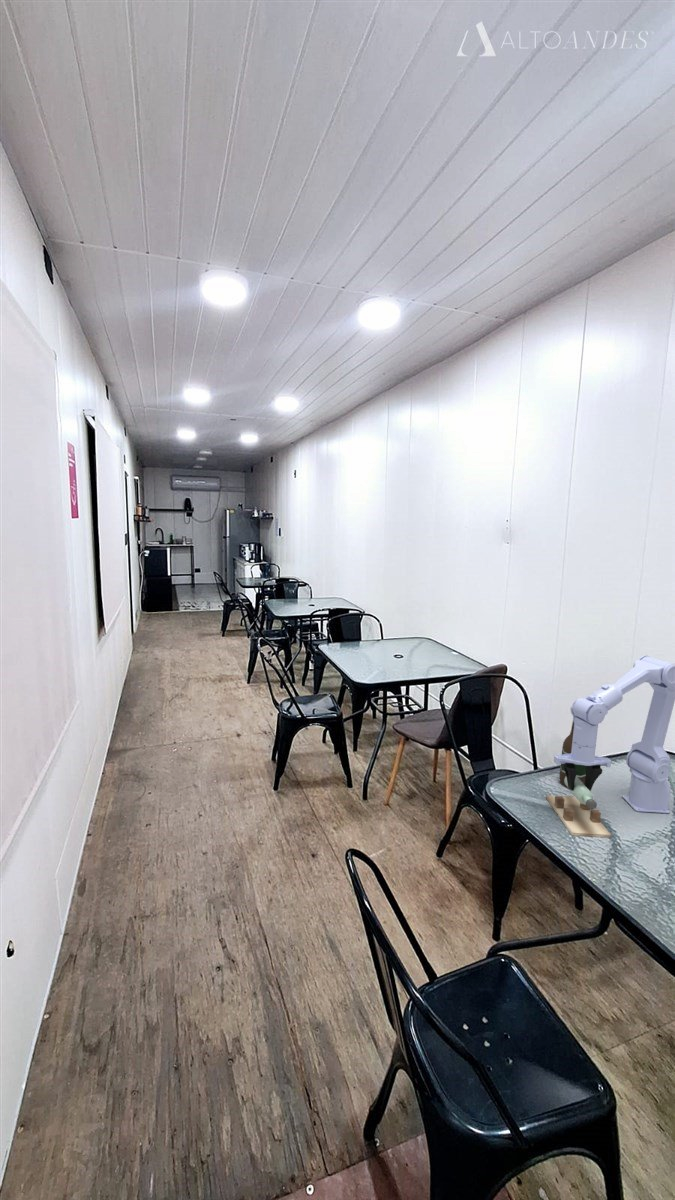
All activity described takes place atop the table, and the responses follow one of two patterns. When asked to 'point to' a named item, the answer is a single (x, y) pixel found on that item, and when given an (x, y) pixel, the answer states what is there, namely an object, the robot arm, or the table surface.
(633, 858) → the table surface
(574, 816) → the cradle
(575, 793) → the bottle
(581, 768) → the beer bottle
